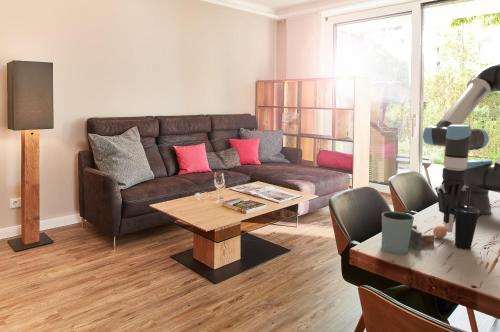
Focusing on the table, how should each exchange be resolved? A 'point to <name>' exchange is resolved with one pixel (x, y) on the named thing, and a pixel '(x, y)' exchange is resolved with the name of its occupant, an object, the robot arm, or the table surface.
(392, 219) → the blue-grey embossed pot
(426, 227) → the table surface
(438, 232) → the ball
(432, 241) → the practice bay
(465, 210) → the drinking cup
